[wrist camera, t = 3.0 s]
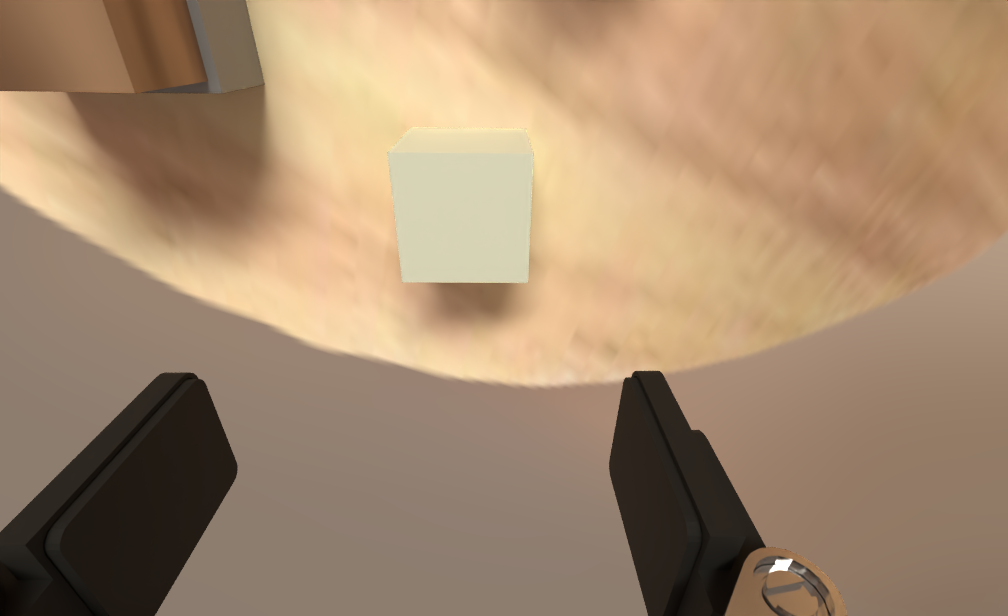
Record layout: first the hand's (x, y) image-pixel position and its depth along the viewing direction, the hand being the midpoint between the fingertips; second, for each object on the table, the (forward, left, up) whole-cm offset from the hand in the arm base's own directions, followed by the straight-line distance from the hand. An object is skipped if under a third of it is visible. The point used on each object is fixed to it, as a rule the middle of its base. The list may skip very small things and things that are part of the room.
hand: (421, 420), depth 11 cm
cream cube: (0, 0, -18) cm, 18 cm away
